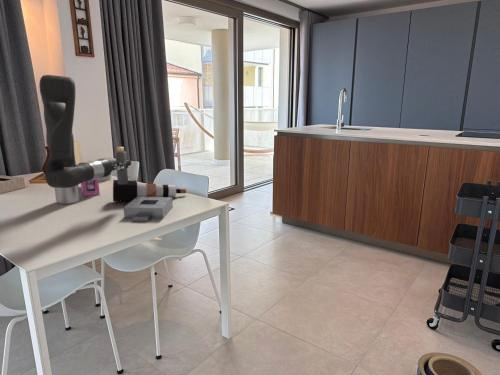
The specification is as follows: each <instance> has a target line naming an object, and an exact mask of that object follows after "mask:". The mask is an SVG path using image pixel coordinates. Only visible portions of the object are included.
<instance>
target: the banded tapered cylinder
mask: <svg viewBox="0 0 500 375" xmlns="http://www.w3.org/2000/svg"><path fill="white" fill-rule="evenodd" d="M112 180H113V182H112V202H115V203H116V202H117V203H119V202H131V201H133V200H134V199H135V198H136V197H172V198H176V196H177V194H186V193H187V189H186V188H177V186H176V184H173V185H172V184H159V183H141V182H137V180H134V179H128V184H123V185H121V184H118V179H112Z"/></svg>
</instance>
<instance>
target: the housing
mask: <svg viewBox="0 0 500 375" xmlns="http://www.w3.org/2000/svg"><path fill="white" fill-rule="evenodd" d="M173 206H174V205H173V197H136V198H135V199H134V200H133V201H129V202H128V203H127V204H126V205H124V207H123V214H124V215H123V216H124V219H132V222H139V223H141V222H142V223H143V222H145V223H146V222H150V220H152V219H158V220H159V219H161V220H162V219H164V218H165V217H166V215H168V214H169V212H170V211H171V209H173Z"/></svg>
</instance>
